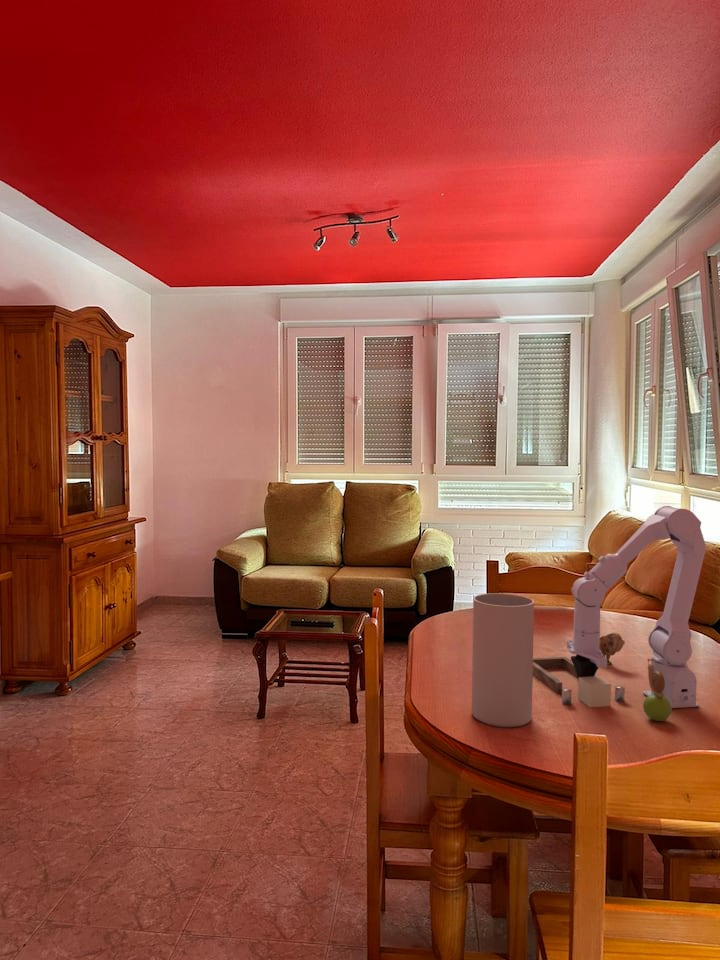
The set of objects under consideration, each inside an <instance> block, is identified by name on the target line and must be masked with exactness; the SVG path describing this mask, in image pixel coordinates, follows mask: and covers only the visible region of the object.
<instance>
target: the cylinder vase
mask: <svg viewBox="0 0 720 960" xmlns="http://www.w3.org/2000/svg"><path fill="white" fill-rule="evenodd" d="M472 604H473V605H472V653H471V654H472V655H471V656H472V657H471V658H472V659H471V660H472V661H471V662H472V663H471V670H472V671H471V713H472V715H473V717H474V718H475V719H476V720H478V722H481V723H484V724H486V725H488V726H494V727H498V728H517V727H518V728H519V727H521V726H522V727H523V726H524V725H527V724H528V723H530V721H531V720H532V717H533V679H534V678H533V676H534V675H533V658H534V625H535V623H534V620H535V601H534V599H532V598H530V597H527V596H524V595H519V594H513V593H512V594H511V593H501V592H500V593H497V592H495V593H482V594H477V595H475V596H473V601H472Z"/></svg>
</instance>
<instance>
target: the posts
mask: <svg viewBox="0 0 720 960" xmlns="http://www.w3.org/2000/svg"><path fill="white" fill-rule="evenodd" d="M625 691H626V689H625V686H623V685H615V686H614V701H616V702H619V701H621V702H620V703H623V701H624V702H625V697H626V696H625ZM572 692H573V691H572V689H570V688H567V687H566V688H564V687H563V688H562V693H561V704H562V705H566V706H570V705H572Z"/></svg>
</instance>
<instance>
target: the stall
mask: <svg viewBox="0 0 720 960" xmlns="http://www.w3.org/2000/svg"><path fill="white" fill-rule="evenodd" d="M547 669H548V670H549V669H564V670H566V671H567V672H568V673H570V674H572V675H573V676H574V677H576V678H577V679H578V677H577V673H576V669H575V667H574V664H573V662H572V660H571V659H569V658H568V657H567V656H555V657H554V656H552V657H533V676H534V677H535V678H537V679H538V680H539V681H541V682H542V683H543V684H544V685H546V686H547V687H549V689H551V691H554V692H555V693H556V694H562V689H563V682H562V681H561V680H560V679H558V678H557V677H556V676H554V675H553V674H551V673H549V671H547ZM594 676H596V674H595V675H594Z"/></svg>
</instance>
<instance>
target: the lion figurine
mask: <svg viewBox="0 0 720 960" xmlns="http://www.w3.org/2000/svg"><path fill="white" fill-rule="evenodd" d="M622 637H623V636H622V635H621V634H620V633H618V632H612V633H609V634H606V635H602V636H601V637H600V641H599V650H600V651H601V653H602V654H603V656H604V657H605V658H607V665H612V664H613V663H612V661H610V658H611V656H614V655H615V654H616V653H618V652H620V651H621V650H622V649H623V648H624V645H625V644H626V641H625V640H624V639H623V638H622Z"/></svg>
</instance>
